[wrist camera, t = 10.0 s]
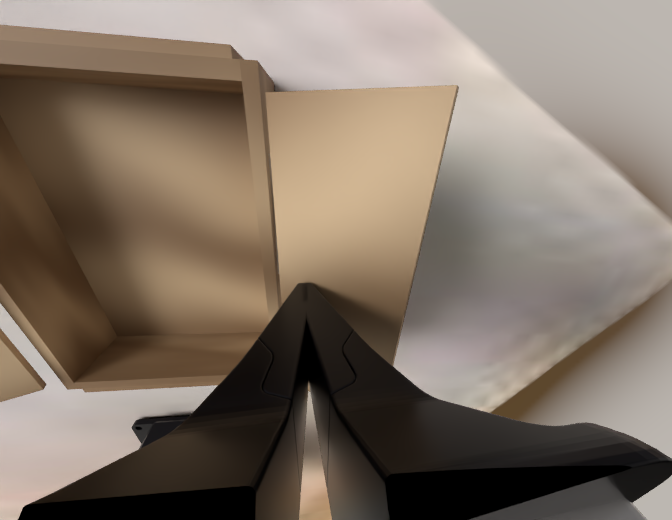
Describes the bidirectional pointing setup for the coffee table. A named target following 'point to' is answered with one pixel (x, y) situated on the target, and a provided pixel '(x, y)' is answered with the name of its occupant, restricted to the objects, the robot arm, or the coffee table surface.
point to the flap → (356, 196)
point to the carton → (135, 206)
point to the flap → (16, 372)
